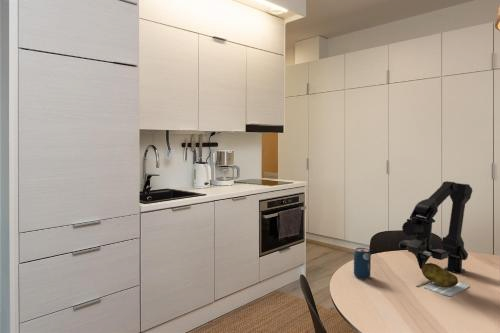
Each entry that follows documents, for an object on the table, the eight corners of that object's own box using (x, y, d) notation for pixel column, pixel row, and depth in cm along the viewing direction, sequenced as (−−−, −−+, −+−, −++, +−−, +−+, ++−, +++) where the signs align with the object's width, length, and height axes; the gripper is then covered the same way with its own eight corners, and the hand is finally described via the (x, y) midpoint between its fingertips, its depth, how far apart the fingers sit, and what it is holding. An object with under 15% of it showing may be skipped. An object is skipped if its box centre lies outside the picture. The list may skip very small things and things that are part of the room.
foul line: (438, 276, 159) (438, 275, 159) (441, 277, 158) (441, 276, 158) (415, 286, 148) (415, 285, 148) (418, 287, 148) (418, 286, 148)
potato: (451, 291, 142) (452, 271, 141) (418, 282, 152) (418, 263, 151) (459, 286, 148) (460, 266, 147) (426, 277, 157) (427, 259, 157)
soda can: (372, 279, 155) (373, 252, 154) (356, 279, 156) (356, 252, 155) (367, 273, 162) (368, 247, 161) (351, 273, 162) (352, 247, 162)
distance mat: (444, 279, 156) (444, 278, 156) (469, 286, 148) (469, 286, 148) (424, 288, 146) (424, 287, 146) (450, 296, 138) (450, 296, 138)
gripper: (392, 230, 157) (390, 265, 158) (435, 241, 142) (432, 280, 143) (407, 227, 163) (405, 261, 165) (450, 237, 148) (447, 275, 149)
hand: (421, 269), depth 155 cm, fingers closed
